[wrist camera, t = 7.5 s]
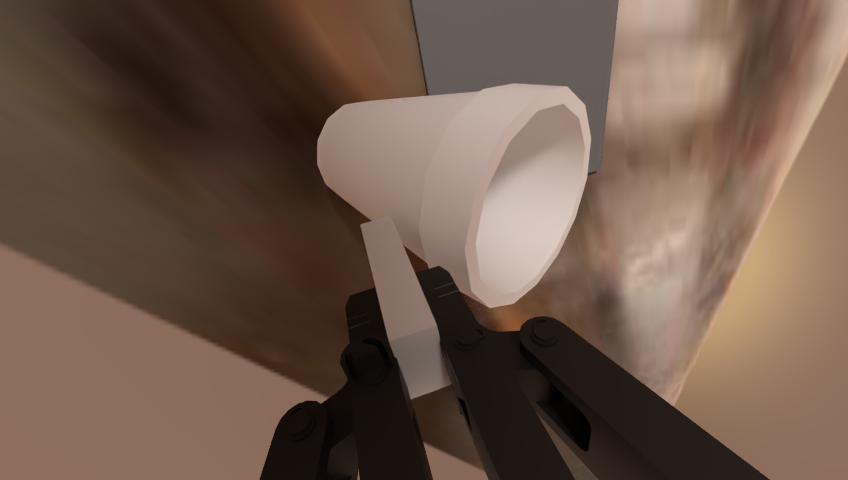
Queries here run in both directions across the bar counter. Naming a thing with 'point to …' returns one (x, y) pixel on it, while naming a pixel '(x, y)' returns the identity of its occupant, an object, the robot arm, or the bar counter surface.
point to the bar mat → (521, 49)
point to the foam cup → (467, 178)
